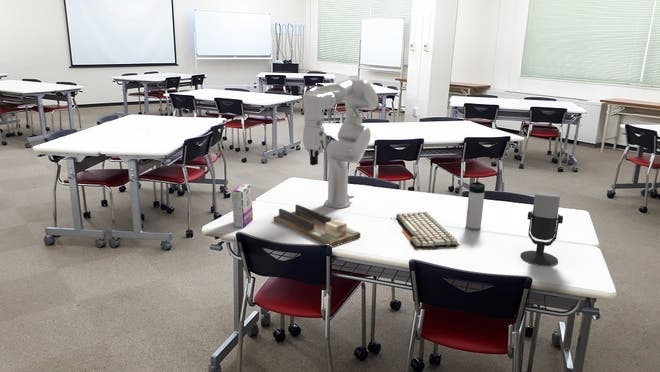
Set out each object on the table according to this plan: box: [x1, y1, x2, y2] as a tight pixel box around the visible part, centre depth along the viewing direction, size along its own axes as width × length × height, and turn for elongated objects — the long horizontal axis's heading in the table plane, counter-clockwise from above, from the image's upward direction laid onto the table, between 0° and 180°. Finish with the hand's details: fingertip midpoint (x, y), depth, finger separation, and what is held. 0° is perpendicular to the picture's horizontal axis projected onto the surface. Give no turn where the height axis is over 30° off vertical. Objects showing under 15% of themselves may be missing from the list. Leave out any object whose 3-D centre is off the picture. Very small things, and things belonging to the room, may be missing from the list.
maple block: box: [325, 219, 348, 238], centre depth 198 cm, size 6×6×4 cm
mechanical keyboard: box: [390, 211, 461, 250], centre depth 209 cm, size 38×19×3 cm, turn 10°
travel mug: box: [465, 181, 486, 232], centre depth 211 cm, size 6×7×20 cm
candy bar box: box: [231, 183, 254, 229], centre depth 212 cm, size 11×5×16 cm, turn 168°
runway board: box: [273, 204, 361, 247], centre depth 208 cm, size 16×38×5 cm, turn 41°
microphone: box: [519, 192, 564, 267], centre depth 180 cm, size 13×13×25 cm
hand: (314, 164), depth 216 cm, fingers closed
